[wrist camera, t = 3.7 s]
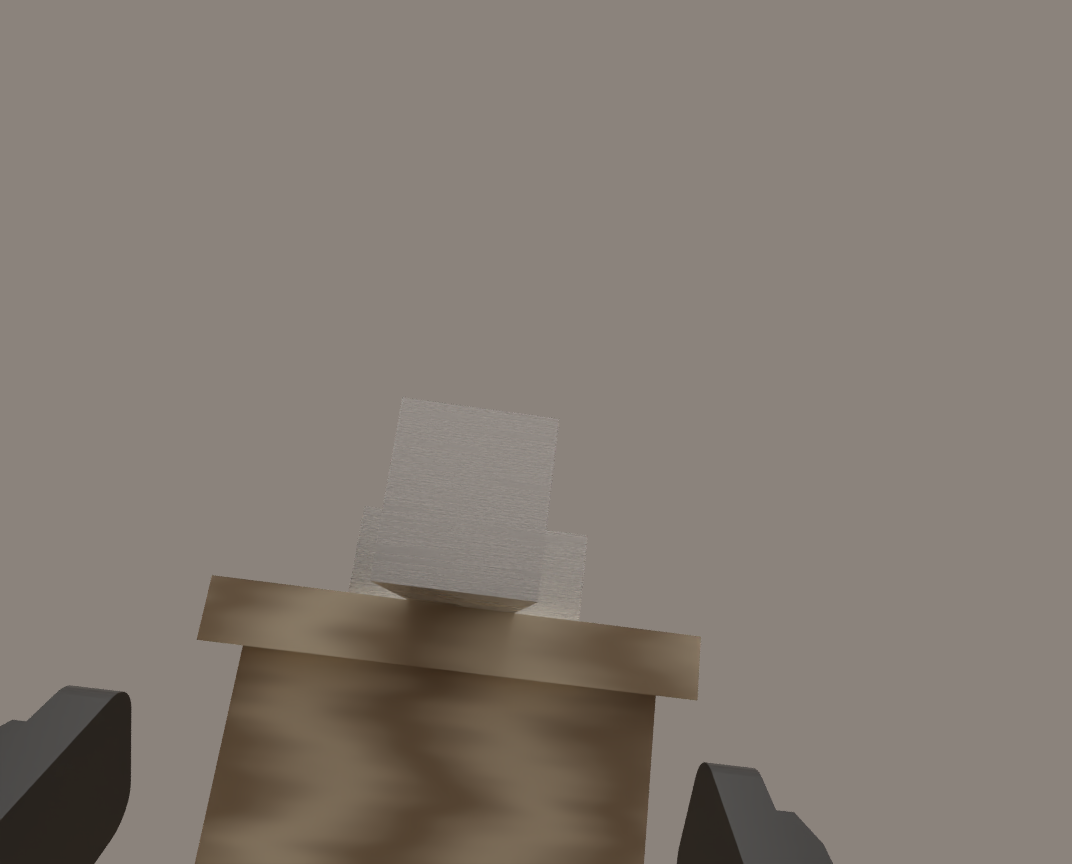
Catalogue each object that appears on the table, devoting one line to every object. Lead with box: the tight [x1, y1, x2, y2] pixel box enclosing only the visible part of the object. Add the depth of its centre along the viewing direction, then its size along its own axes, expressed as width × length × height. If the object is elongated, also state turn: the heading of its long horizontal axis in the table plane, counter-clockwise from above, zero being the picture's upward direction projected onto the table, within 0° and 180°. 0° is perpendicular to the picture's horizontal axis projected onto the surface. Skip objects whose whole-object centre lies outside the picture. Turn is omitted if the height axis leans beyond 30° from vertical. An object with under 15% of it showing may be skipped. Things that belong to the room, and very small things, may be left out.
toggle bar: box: [349, 397, 587, 621], centre depth 25 cm, size 20×10×4 cm, turn 5°
